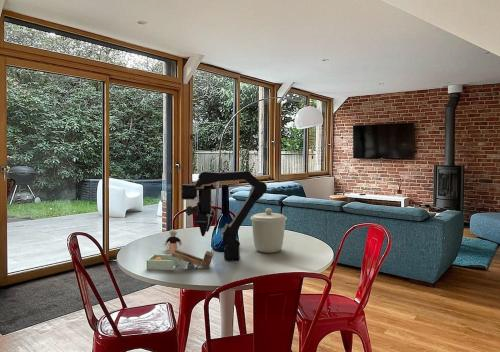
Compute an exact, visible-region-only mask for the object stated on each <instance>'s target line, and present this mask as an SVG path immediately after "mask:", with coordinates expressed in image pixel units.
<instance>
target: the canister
mask: <svg viewBox="0 0 500 352" xmlns="http://www.w3.org/2000/svg"><path fill="white" fill-rule="evenodd" d="M287 219H288V218H287V216H286V215H283V213H277V212H273V209H272V208H270V207H268V208H265V209H264V212H260V213H259V212H258V213H254V214H253V215H251V216H250V220H251V226H252V227H251V228H252V236H253V242H254V243H253V244H254V247H255V250H256V251H258V252H260V253H265V254H270V253H272V254H274V253H277V252H280V251H281V250H282V248H283V244H284V238H285V237H284V236H285V230H286V229H285V228H286V220H287Z"/></svg>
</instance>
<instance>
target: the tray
mask: <svg viewBox="0 0 500 352" xmlns="http://www.w3.org/2000/svg"><path fill="white" fill-rule="evenodd" d="M157 257H159V258H161V259H162V260H155V258H157ZM179 261H180V259H178V258H175V257H172V255H169V254H163V253H162V254H160V253H159V254H158V253H157V254H156V253H154V254H153V255H150V257H148V259H146V270H147V271H174V270H175V269H176V268H177V266H178V265H179Z"/></svg>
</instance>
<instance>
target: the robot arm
mask: <svg viewBox="0 0 500 352" xmlns="http://www.w3.org/2000/svg"><path fill="white" fill-rule="evenodd" d="M197 177H198V178H197V180H196V181H195V182H194V184H186V183H185V184H184V183H183V184H181V189H182V191H181V200H185V201H186V200H195V199H196V198H197V197H198V201H197V202H196V204H194V205H193V206H192V205H188V206H187V207H186V209H185V213H186V215H187V216H188V217H190V216H191V215H194V214H196V215H194V217H193V222H194V223H195V224H197V225H198V228H199V231H200V235H201V237H205V236H206V232H207V233H208V232H209V231H210V228H211V225H212V223H213V220H214V218H215V215H216V210H215V209H214V208H212V204H213V200H212V190H217V189H216V188H217V187H216V186H214V185H213V184H215V183H216V182H223V181H224V182H225V181H227V182H228V181H240V180H241V181H242V180H245V181H246V182H247V183H248V184H249V185H250V186H251V188H250V189H249V193H248V196H247V198H246V200H245V201H244V202H243V204H242V206H241V207H240V208H239V210H238V212H237V213H236V215H235V216H234V218H233V220H232V221H231V222H230V223H229V224H228V223H225V225H224V227H223V228H222V229H221V234H220V235H221V238H222V241H223V242H224V243H225V247H224V249H223V258H224V261H235V262H237V261H238V262H239V261H240V258H241V255H240V254H241V253H240V252H241V251H240V248H241V247H240V245H241V243H240V241H239V239H238V238H237V236H238V234H239V230H240V227H241V225H242V224H243V223H244V221H245V219H246V218H247V217H248V214H249V213H250V212H251V210H252V209H253V207H254V205H255V204H256V202H257V201H259V200H260V199H261V198H262V197H263V196H264V195H265V194H266V192H267V190H268V186H267V184H266V182H264V181H261V180H259V179H258V178H256V177H255V176H254V175H253V174H252V173H251V172H250V171H248V170H242V171H241V170H239V171H226V172H225V171H224V172H215V171H208V170H202V171H200V172H199V174H198V176H197ZM202 186H203V187H202Z"/></svg>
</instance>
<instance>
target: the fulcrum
mask: <svg viewBox="0 0 500 352" xmlns="http://www.w3.org/2000/svg"><path fill="white" fill-rule="evenodd" d="M197 268H198V265H195V264H192V263H190V264H189V262H187V263H186V264H185V266H184V267H183V268H182V269H183V271H184V270H185V271H195V270H197Z"/></svg>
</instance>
